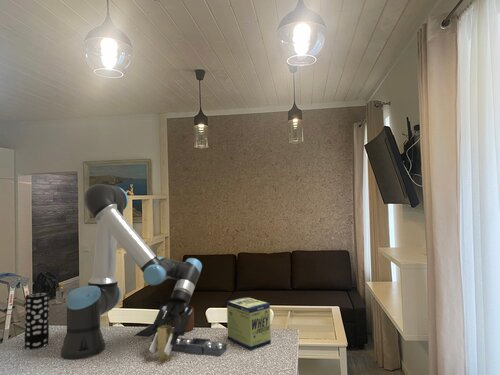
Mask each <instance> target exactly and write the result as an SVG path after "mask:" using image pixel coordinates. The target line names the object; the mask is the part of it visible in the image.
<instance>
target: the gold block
mask: <svg viewBox="0 0 500 375" xmlns="http://www.w3.org/2000/svg"><path fill="white" fill-rule="evenodd" d="M172 329H173V326H172V325H171V324H169V325H168V324H167V325H162V326H160V327H158V328H157V334H158V345H157V360H158V361H165V362H167V361H168V360H170V359H171V358H172V357H173V350H172V348H171V351H170V354H169V356H168V355H166V354H165V353H164V350H165V347H166V345H167V342H168V340H169V337H170V335H171V334H173V330H172Z"/></svg>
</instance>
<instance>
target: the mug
mask: <svg viewBox="0 0 500 375" xmlns="http://www.w3.org/2000/svg"><path fill="white" fill-rule="evenodd" d="M187 308H191V310H192V311H193V313H192V314H191V316H190V318H189V321H188V324H187V327H186V330H185V333H188V332H191V331H193V330H194V328H195V324H194V323H195V312H194V311H195V310H194V307H193V306H191V305H188V306H187ZM184 314H185V312H184V313H183V314H182V319H183V317H184ZM182 319H181V322H182ZM180 325H181V323H180Z"/></svg>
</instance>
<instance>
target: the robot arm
mask: <svg viewBox="0 0 500 375" xmlns="http://www.w3.org/2000/svg"><path fill="white" fill-rule="evenodd" d="M83 203H84V206H85V209H87V211H88V213H89V214H90V215H91V217H93V219H94V220H95V221H96V231H95V232H96V233H95V245H94V246H95V249H94V258H93V269H92V271H93V272H92V277H91V278H90V279H89V280H88V281H87V285H85V286H82V287H78V288H74V289H72V290H71V291H69V293H68V294H67V298H66V304H65V305H66V334H65V337H64V341H63V345H62V346H61V350H60V357H61V358H63V359H65V360H66V359H67V360H80V359H85V358H91V357H94V356H96V355H98V354H101V353H102V352H103V351H104V350H105V348H106V342H105V341H106V340H105V339H104V337H103V333H102V330H101V316H102V315H103V314H105V313H107V312H110V311H111V310H112V309H114V308H115V307H116V306H117V305H118V304H119V302H120V300H121V297H122V296H121V295H122V291H121V288H120V287H119V284H118V282H119V281H118V279H117V277H116V276H115V273H116V260H117V246H118V244H119V245H120V246H121V248H122V249H123V250H124V251H125V252H126V254H127V255H128V256H129V257H130V259H131V260H132V261H133V263H135V264H136V266H137V267H138V268H139V269H140V271H141V272H142V276H143V281H144V282H145V283H146V284H147V285H148V286H149V285H150V286H157V285H160V284H161V283H163V282H164V281H166V280H168V279H172V280H176V283H175V286H174V288H173V291H172V293H171V296H170V298H169V301H168V303H167V304H166V305H164V306H163V305H160V306H159V310H158V313H157V315H156V318H155V320H154V321H153V323H152V324H153V326H152V328H151V330H152V331H153V332H154V335H153V336H152V337H151V344H150V347H149V350H148V351H149V352H150V353H151V354H153V355H154V354H155V352H156V351H157V349H158V334H157V328H158V327H160V326H162V325H168V323H169V322H170V321H171V320H172V318H174V325H173V330H172V334H171V335H170V337H169V340H168V342H167V345H166V347H165V350H164V353H165V354H166V355H168V356H169V354H170V351H171V348H172V346H173V345H175V343H176V340H177V338H179V337H180V336H181V337H183V336H184V335H185V333H186V332H185V330H186V327H187V324H188V321H189V318H190V316H191V314H192V313H193V311H192V310H191V308H187V306H189V305H190V304H189V303H190V301H191V299H192V296H193V293H194V290H195V289H196V285H197V282H198V280H199V277H200V276H201V271H202V268H203V264H202V262H201V261H200V260H199V259H197V258H194V257H189V258H187V259H186V260H185V261H180V260H179V261H178V260H175V259H172V258H167V257H163V256H157V255H156V254H155V252H154V251H153V250H152V249H151V247H149V246H148V244H147V243H146V241H144V239H143V238H141V236H140V235H139V233H138V232H137V231H136V230H135V229H134V228H133V226H132V225H131V224H130V223H129V222H128V220H127V219H126V218H125V217H124V211H125V209H126V208H127V206H128V204H129V197H128V193H127V192H126V191H125V190H124V189H123V188H121V187H119V186H117V185H109V184H103V183H96V184H93V185H91V186H90V187H88V188H87V189H86V190H85V192H84V196H83ZM184 312H185V314H184V317H183V319H182V314H183V313H184ZM181 319H182V322H181ZM180 323H181V325H180Z"/></svg>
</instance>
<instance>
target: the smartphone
mask: <svg viewBox="0 0 500 375" xmlns="http://www.w3.org/2000/svg"><path fill="white" fill-rule="evenodd" d="M152 326H153V323H152V324H150V325H148V326H147V327H144V328H143V329H142V330H140V331H137V333H135V334H133V338H140V337H142V338H141V339H143V338H144V339H150V338H151V339H152V337H153V335H154V332H153V331H152V330H151V328H152Z"/></svg>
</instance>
